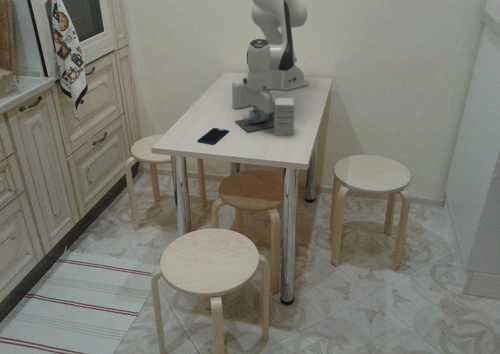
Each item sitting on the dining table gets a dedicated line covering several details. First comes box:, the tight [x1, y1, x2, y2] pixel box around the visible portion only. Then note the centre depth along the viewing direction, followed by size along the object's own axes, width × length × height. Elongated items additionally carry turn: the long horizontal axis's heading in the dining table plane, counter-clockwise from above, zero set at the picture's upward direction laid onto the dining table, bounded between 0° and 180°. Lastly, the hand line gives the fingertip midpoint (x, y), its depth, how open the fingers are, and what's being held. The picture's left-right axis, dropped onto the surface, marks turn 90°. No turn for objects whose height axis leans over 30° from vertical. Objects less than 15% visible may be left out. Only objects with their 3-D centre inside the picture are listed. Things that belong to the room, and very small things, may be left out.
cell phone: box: [196, 127, 230, 146], centre depth 182 cm, size 7×14×1 cm, turn 156°
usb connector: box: [243, 108, 274, 123], centre depth 190 cm, size 14×4×4 cm, turn 116°
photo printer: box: [231, 78, 252, 110], centre depth 207 cm, size 10×4×12 cm, turn 123°
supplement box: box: [273, 97, 295, 136], centre depth 182 cm, size 7×7×13 cm
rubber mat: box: [234, 115, 274, 134], centre depth 192 cm, size 16×12×1 cm
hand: (259, 116), depth 190 cm, fingers closed on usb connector, 3 cm apart
